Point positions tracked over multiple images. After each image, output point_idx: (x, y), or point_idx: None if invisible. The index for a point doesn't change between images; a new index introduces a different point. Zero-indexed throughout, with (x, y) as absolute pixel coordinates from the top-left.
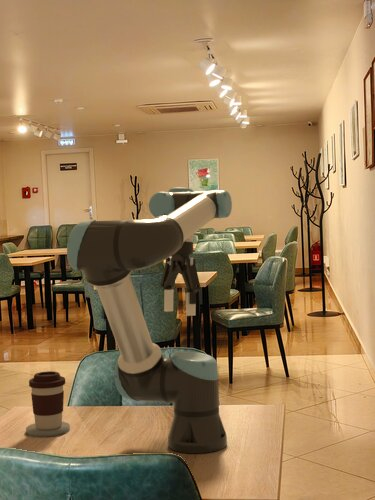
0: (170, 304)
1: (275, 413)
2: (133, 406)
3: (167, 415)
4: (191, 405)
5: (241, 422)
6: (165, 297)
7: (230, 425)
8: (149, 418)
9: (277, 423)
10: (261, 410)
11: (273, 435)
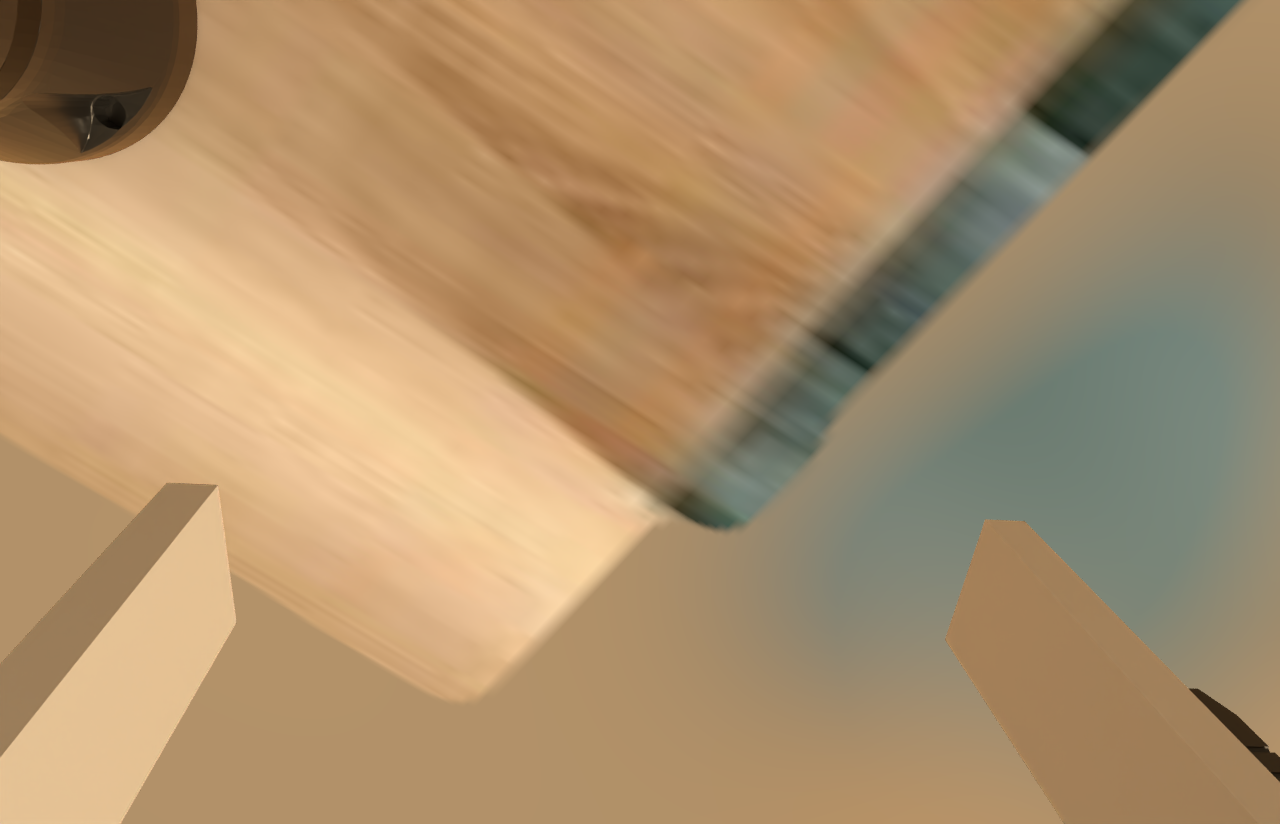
0: (1017, 680)
1: (348, 621)
2: (953, 152)
3: (655, 200)
4: None
5: (298, 421)
6: (1144, 697)
7: (279, 350)
8: (671, 79)
9: None
10: (432, 605)
11: (5, 407)
